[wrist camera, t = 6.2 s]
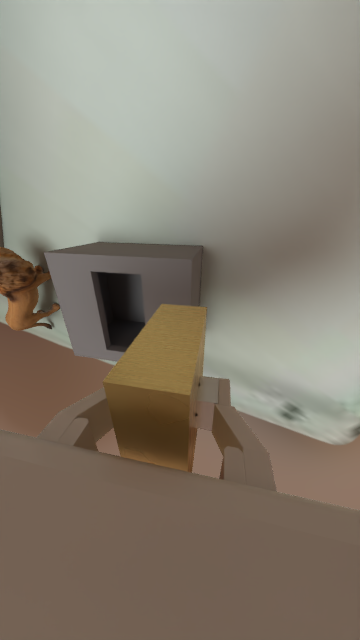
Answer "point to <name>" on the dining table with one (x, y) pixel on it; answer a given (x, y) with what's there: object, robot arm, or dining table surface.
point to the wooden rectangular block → (159, 388)
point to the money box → (120, 290)
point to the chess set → (1, 232)
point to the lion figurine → (22, 290)
